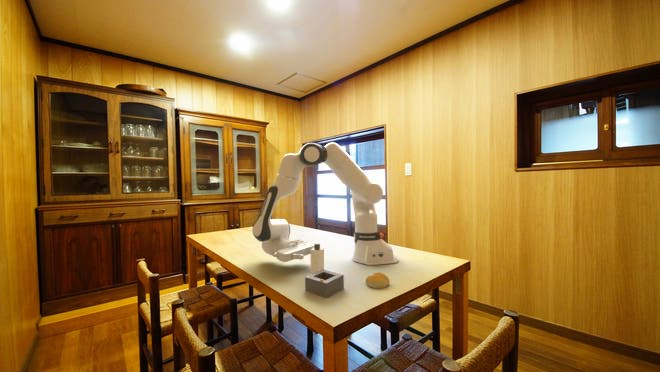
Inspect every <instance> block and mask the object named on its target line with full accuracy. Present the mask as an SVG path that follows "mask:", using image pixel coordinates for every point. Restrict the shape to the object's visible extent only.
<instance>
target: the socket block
mask: <svg viewBox="0 0 660 372" xmlns="http://www.w3.org/2000/svg"><path fill="white" fill-rule="evenodd" d="M304 285H305V286H304V288H305V291H306V292H307V293H311V294H314V295H317V296H320V297H323V298H324V299H328V298H329V297H331V296H333V295H335V294H336V293H338V292H339V291H342V290H344V288H345V275H344V274H341V273H338V272H334V271H330V270H326V269H324V270H320V271H318V272H316V273H313V274H311V273H310V274H308V275H306V276H304Z"/></svg>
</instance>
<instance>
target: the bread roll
mask: <svg viewBox="0 0 660 372" xmlns="http://www.w3.org/2000/svg"><path fill="white" fill-rule="evenodd" d="M365 284H366V285H367V286H368V288H369V287H370V288H373V289H384V288H386V287H387V286H389V285H390V278H389V277H388V275H386V274H385V273H382V272H374V273H373V274H371V275H368V276H367V277H365Z"/></svg>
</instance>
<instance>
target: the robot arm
mask: <svg viewBox="0 0 660 372" xmlns="http://www.w3.org/2000/svg"><path fill="white" fill-rule="evenodd" d="M323 163H324V164H325V165H326V166H328V167H329V168H330V170H331V171H332V172H333V174H334V175H335V176H336V177H337V178H338V179H339V180H340V181H341V182H342V184H343V185H345V186H346V187H347V188H348V189H349V190H350V195H351V199H352V200H351V201H352V207H353V212H354V233H353V241H354V248H353V253H352V258H351V259H352V260H353V261H354V262H356V263H359V264H364V265H367V266H375V265H385V264H387V265H388V264H397V263H398V262H399V257H398V256H396V255H395V254H394V250H393V247H392V246H391V245H390V244H389V243H388V242H386V241H385V240H384V239H383V238H384V237H385V235H384V233H383V232H380V231H379V230H378V213H377V212H376V208H375V204H377V203H379V202H380V201H381V200H382V198H383V196H384V193H383V192H384V191H383V189H382V187H381V186H380V184H378V183H377V182H375V180H373V178H371V177H370V176H369V175H368V174H367V172H365V171H364V170H362V168H360V166H359V165H358V164H357V163H356V162H355V161H354V160H353V158H352V157H351V156H350V155H349V153H347V151H345V149H344V148H343V147H341V146H340V145H339V144H338V143H336V142H329V143H327V144H326V145H321V144H318V143H315V142H307V143H306V144H304V145H303V146H302V147H301V148H300V149H299V152H298V153H286V154H285V155H283V157H282V159H281V162H280V165H279V167H278V171H277V176H276V178H275V181H274V182H273V184H272V185H271V186H270V187H269V188H268V189H267V191H266V194H265V196H264V199H263V202H262V205H261V207H260V210H259V214H258V216H257V218H256V220H255V222H254V223H253V226H252V235H253V236H254V238H255V239H256V240H257V241H259V242H261V249H262V251H263V252H265V254H266V255H267V254H268V255H269V256H272V257H274V258H276V259H277V260H278V261H280V262H283V263H287V262H290V261H293V260H304V257H305V256H308V255H311V253H310V249H313V248H314V244H315V243H313V242H309V241H304V240H303V239H293V240H292V239H290V234H291V226H290V223H289V222H288V221H287V219H284V218H273V219H272V217H273V216H272V215H273V213H274V210H275V207H276V205H277V204H278V203H279V201H280V200H282V199H284V198H287V197H289V196H292V195H294V194H295V192H297V191H298V189H299V186H300V182H301V177H302V173H303V170H304V168H306V167H316V166H319V165H320V164H323ZM352 260H351V261H352Z"/></svg>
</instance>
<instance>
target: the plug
mask: <svg viewBox="0 0 660 372" xmlns="http://www.w3.org/2000/svg"><path fill="white" fill-rule="evenodd" d="M310 253H311V254H310V275H311V274H313V273H316V272H318V271H320V270H325V249H324V248H321V244H320V243H314V248H313V249H310Z"/></svg>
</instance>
